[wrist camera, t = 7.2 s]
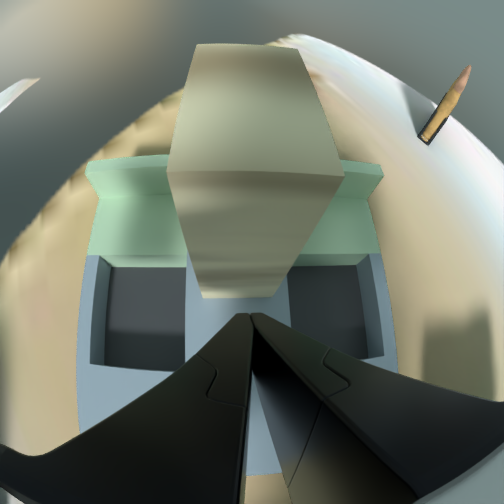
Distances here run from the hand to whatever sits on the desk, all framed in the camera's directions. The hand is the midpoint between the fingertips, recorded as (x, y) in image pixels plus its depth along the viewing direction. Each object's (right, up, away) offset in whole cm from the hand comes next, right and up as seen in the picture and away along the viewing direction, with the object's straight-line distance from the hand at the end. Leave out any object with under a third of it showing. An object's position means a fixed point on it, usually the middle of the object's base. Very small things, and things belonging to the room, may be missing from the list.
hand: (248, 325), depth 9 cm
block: (-1, +3, +9) cm, 9 cm away
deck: (-1, -3, +9) cm, 9 cm away
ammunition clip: (+25, +20, +22) cm, 39 cm away
